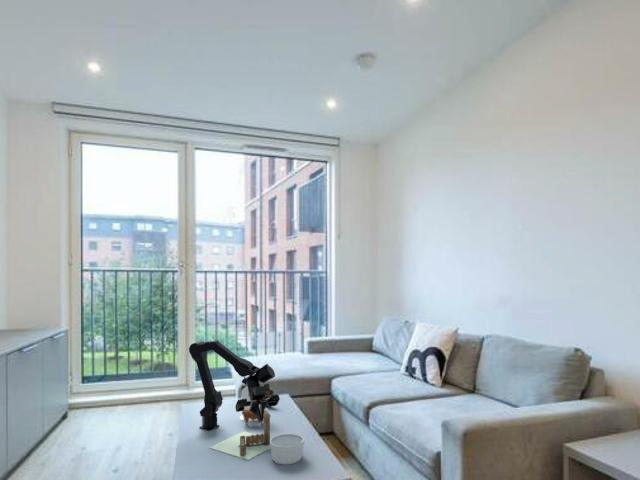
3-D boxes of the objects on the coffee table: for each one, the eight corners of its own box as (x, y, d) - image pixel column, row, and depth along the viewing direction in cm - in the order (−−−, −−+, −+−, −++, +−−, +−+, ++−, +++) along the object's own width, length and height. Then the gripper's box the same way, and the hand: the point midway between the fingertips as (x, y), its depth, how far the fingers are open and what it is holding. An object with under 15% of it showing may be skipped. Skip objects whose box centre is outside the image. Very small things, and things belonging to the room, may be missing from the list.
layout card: (209, 448, 168) (209, 447, 168) (243, 431, 185) (243, 431, 185) (248, 460, 157) (248, 459, 157) (281, 441, 173) (281, 440, 173)
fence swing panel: (246, 446, 168) (246, 418, 169) (245, 443, 171) (245, 416, 172) (271, 442, 171) (270, 415, 171) (270, 440, 173) (269, 413, 174)
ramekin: (272, 451, 165) (272, 433, 165) (305, 451, 164) (305, 432, 165) (267, 466, 152) (267, 447, 152) (303, 466, 151) (303, 446, 152)
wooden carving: (251, 403, 225) (251, 384, 226) (257, 401, 229) (257, 382, 229) (271, 409, 214) (271, 389, 215) (278, 407, 218) (278, 387, 219)
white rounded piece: (269, 416, 205) (268, 385, 206) (253, 423, 195) (253, 390, 196) (250, 412, 211) (250, 381, 212) (234, 418, 202) (234, 387, 203)
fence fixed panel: (240, 446, 170) (240, 435, 170) (245, 445, 170) (245, 435, 170) (240, 457, 160) (240, 446, 160) (245, 456, 160) (245, 445, 160)
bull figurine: (268, 428, 189) (268, 409, 190) (241, 426, 192) (241, 408, 192) (271, 424, 193) (271, 406, 194) (244, 422, 196) (244, 405, 197)
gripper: (237, 380, 178) (244, 415, 167) (278, 375, 186) (287, 407, 175) (232, 394, 184) (239, 428, 173) (272, 389, 192) (280, 421, 182)
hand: (262, 421), depth 176 cm, fingers closed
